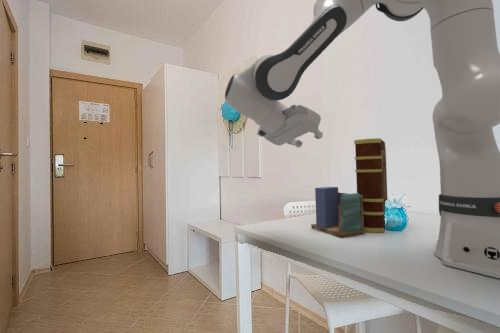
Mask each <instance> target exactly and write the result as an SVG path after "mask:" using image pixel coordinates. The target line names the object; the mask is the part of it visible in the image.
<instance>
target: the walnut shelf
mask: <svg viewBox="0 0 500 333" xmlns="http://www.w3.org/2000/svg"><path fill="white" fill-rule="evenodd" d="M338 199H339V205H338V215H339V225H337V226H332V227H328V228H323V227H319V226H316V223H312V224H310V225H311V226H310V228H311V227H312V228H311V229H313V228H314V230H316V229H317V231H319V230H320V232H322V233H326V234H329V235H331V236H334V237H337V238H341V239H343V238H349V237H355V236H359V235H360V236H361V235H364V234H365V232H364V216H363V195H360V194H358V193H357V192H353V193H345V192H339V191H338Z"/></svg>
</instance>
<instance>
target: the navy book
mask: <svg viewBox="0 0 500 333" xmlns="http://www.w3.org/2000/svg"><path fill="white" fill-rule="evenodd" d="M338 192H339V187H338V186H322V187H315V189H314V195H315V220H316V221H315V224H316V226H319V227H323V228H328V227H332V226H337V225H339V215H338V205H339V199H338Z"/></svg>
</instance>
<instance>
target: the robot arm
mask: <svg viewBox="0 0 500 333" xmlns="http://www.w3.org/2000/svg"><path fill="white" fill-rule="evenodd" d="M373 6H375V8H376V10H377V11H379V12H381V13H383V14H384V15H385V16H386V17H387V18H388V19H389V20H392V21H395V22H407V21H409V20H411V19H413V18H415V17H416V16H417V15H418V14H420V12H422V11H423V9H424V10H425V11H426V12H427V13H426V14H427V15H428V17H429V24H430V37H431V38H430V39H431V49H432V50H431V51H432V52H431V53H432V60H433V61H432V63H433V67H434V68H435V69H436V72H437V75H438V76H437V77H438V80H439V83H440V87H441V95H442V96H441V98H440V99H439V100H438V101H437V103H436V104H435V105H434V107H433V111H432V123H433V131H434V138H435V143H436V149H437V156H438V160H439V178H440V180H439V182H440V194H438V212H439V216H440V221H439V222H440V223H439V229H438V230H439V231H438V238H437V241H436V242H437V243H436V245H435V249H434V250H433V251H434V252H433V253H434V255H435V256H436V257H437V258H438V259H440V260H441V262H442V264H443V265H445V266H448V267H452V268H456V269H460V270H463V271H467V272H472V273H476V274H480V275H483V276H487V277H492V278H496V279H500V149H499V147H498V144H497V140H496V138H495V134H494V130H493V129H494V127H496V126H498V125H500V51H499V47H498V41H497V40H498V38H497V31H496V21H495V13H494V12H495V11H494V2H493V0H316V1H315V3H314V5H313V19H312V21H311V23H310V24H309V25H308V27H307V28H305V30H303V31H302V33H301V34H299V36H298V37H297V38H296V39H295V40H294V41H293V42H292V43H291V44H290V45H289V46H288V47H287V48H286V49H285V50H284V51H282V52H280V53H278V54H275V55H274V54H266V55H263V56H260V57H259V58H257V59H256V61H254V62H253V63H252V64H251V65H249V66H248V67H247V68H245V69H244V70H242V71H240V72H237V73H234V74H233V75H231V77H230V79H229V80H228V84H227V86H226V88H225V91H224V92H225V94H224V98H225V102H226V104H228V105H229V106H230V107H231V108H232V109H233V110H235V111H236V112H237V113H239V114H240V115H242V116H243V117H245V118H247V119H250V120H252V121H254V123H255V124H256V125H258V126H259V128H258V130H257V133H256V134H257V136H259V137H263V138H264V139H265V140H267V142H270V143H272V144H274V146H280V147H281V146H283V145H284V144H287V145H291V146H295V147H296V148H301V147H302V146H303V141H301V140H300V139H297V138H300V137H302V136H304V135H306V134H308V133H312V134H314V135H313V138H315V139H316V140H320V139H322V138H323V136H324V133H323V132H322V131H320V129H319V126H320V124H321V120H322V117H321V115H320V114H319V113H318V112H315V111H314V110H312V109H310V108H308V107H307V106H304V105H301V104H292V105H290V106H289V107H288V106H286V105H285V104H284V103H282V102H281V100H285V99H286V98H288V97H289V96H291V95H292V94H293V93H294V91H295V90H296V88H297V86H298V85H299V83H300V80H301V78H302V76H303V74H304V73H305V71H307V68H309V66H310V65H311V64H313V63H314V62H315V60H317V58H318V57H319V56H320V55H321V54H322V53H323V52H324V51H326V49H327V48H328V47H329V45H331V43H333V42H334V40H335V39H337V38H338V37H339V36H340V35H341V34H343V32H345V31H346V30H347V29H349V28H350V27H351V26H352V25H354V24H355V23H356V22H357V21H358V20H359V19H360V18H361V17H362V16H363V15H364V14H366V13H367V11H368V10H369V9H370V8H371V7H373Z"/></svg>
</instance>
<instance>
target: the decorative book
mask: <svg viewBox="0 0 500 333" xmlns="http://www.w3.org/2000/svg"><path fill="white" fill-rule="evenodd" d="M353 145H355V147H354V148H355V157H354V160H355V169H354V171H355V174H356V175H355V176H356V193H358V194H360V195H363V216H364V233H373V234H374V233H375V234H379V233H380V234H381V233H384V232H385V230H386V227H385V220H384V219H385V216H384V215H385V201H386V200H388V177H387V152H386V151H387V150H386V148H387V147H386V142H385V141H384V140H383V139H382V138H381V137H380V138H379V137H378V138H377V137H376V138H374V137H373V138H362V139H361V138H360V139H355V140H353Z"/></svg>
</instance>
